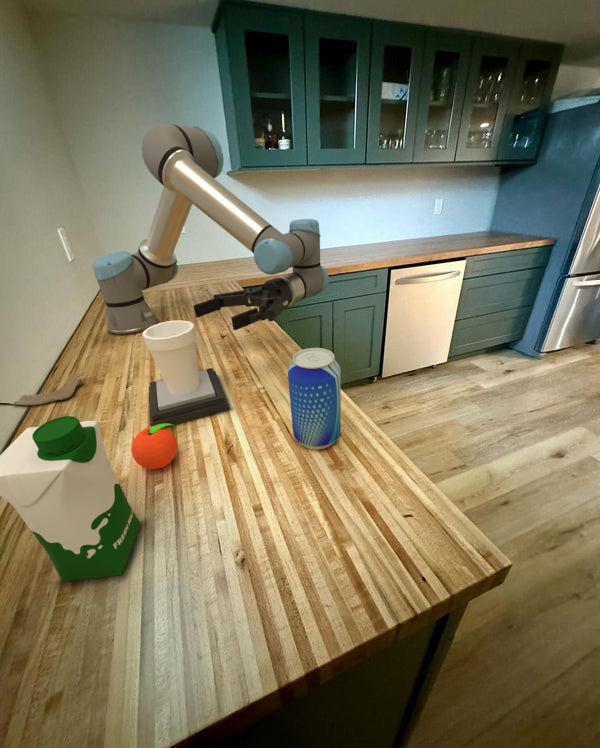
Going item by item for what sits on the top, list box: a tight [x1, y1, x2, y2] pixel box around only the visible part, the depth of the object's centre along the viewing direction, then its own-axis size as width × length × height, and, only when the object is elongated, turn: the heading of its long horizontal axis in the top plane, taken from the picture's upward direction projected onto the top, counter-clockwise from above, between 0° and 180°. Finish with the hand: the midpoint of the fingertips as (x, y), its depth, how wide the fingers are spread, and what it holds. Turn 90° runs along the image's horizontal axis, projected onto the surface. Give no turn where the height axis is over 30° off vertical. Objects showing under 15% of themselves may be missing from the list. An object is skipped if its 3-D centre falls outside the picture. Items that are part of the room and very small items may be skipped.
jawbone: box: [12, 372, 85, 407], centre depth 76 cm, size 9×20×2 cm, turn 119°
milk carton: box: [0, 415, 142, 583], centre depth 38 cm, size 9×9×20 cm
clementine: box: [130, 423, 178, 470], centre depth 55 cm, size 8×7×7 cm
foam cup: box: [142, 319, 199, 395], centre depth 68 cm, size 10×9×13 cm
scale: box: [148, 367, 230, 428], centre depth 72 cm, size 15×15×3 cm
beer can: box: [287, 347, 342, 451], centre depth 56 cm, size 8×8×16 cm
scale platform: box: [155, 369, 216, 411], centre depth 71 cm, size 11×11×2 cm
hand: (213, 317), depth 72 cm, fingers open, 13 cm apart
